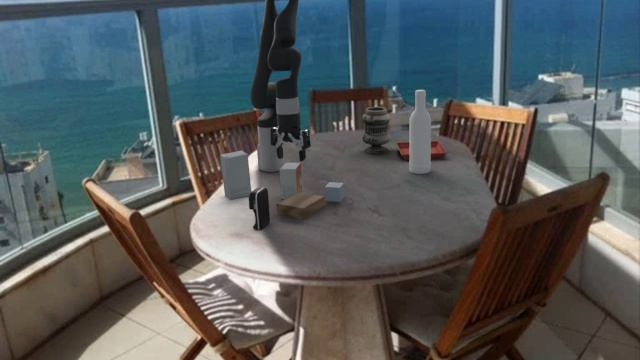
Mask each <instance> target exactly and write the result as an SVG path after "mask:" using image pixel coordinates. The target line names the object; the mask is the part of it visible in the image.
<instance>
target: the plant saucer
mask: <svg viewBox="0 0 640 360" xmlns="http://www.w3.org/2000/svg"><path fill="white" fill-rule="evenodd" d="M396 146H397V149H398V151H399V153H400V155H401V157H402V158H403V160H407V161H408V160H409V141H406V142H405V141H401V142H396ZM446 154H447V151H446V149H445V147H444V146H443V145H442V143H441V142H440V141H438V140H431V160H432V159H433V160H435V159H434V158H437V159H442V158H443V157H444V156H445V155H446Z"/></svg>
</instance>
